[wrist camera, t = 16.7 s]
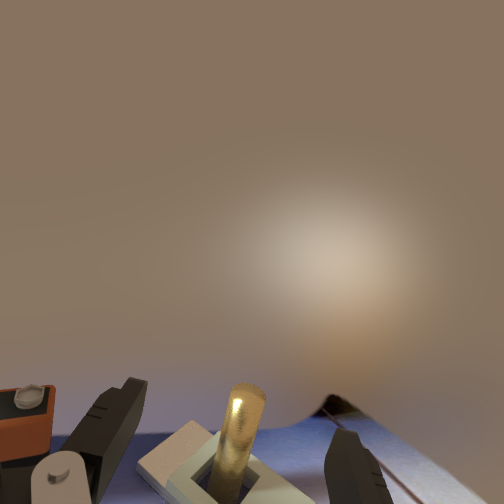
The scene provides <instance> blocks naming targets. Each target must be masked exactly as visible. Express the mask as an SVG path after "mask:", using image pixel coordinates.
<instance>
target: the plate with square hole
mask: <svg viewBox="0 0 504 504" xmlns="http://www.w3.org/2000/svg"><path fill="white" fill-rule="evenodd" d="M220 434H221V431H220V430H219V431H218V432H217V433H216V434H215V435H214V436H213V437H212V438H211V439H210V440H209V441H207V442H206V443H205V444H204V445H203V446H202V447H201V448H200V449H199V450H198V451H197V452H195V453H194V454H193V455H192V456H191V457H190V458H189V459H188V460H187V461H186V462H185V463H184V464H182V465H181V466H180V467H179V468H178V469H177V470H176V471H175V472H174V473H173V474H172V475H170V476H169V477H168V478H167V482H166V487H165V489H166V490H167V491H168V492H169V493H170V494H171V495H172V496H173V497H174V498H176V499H177V500H178V501H179V502H180V503H181V504H219V503H217V502H216V501H215V500H214V499H213V498H212V497H211V496H210V495H209V494H207V493H206V492H205V491H204V490H203V489H202V488H201V487H200V486H199V485H197V484H196V483H195V482H194V481H195V480H196V479H197V478H198V477H199V476H200V475H201V474H202V473H203V472H204V471H205V470H206V469H207V467H208V466H209V465H210V464H211V463H212V462H213V461H214V458H215V454H216V450H217V446H218V442H219V438H220ZM245 476H247V477H248V478H249V479H250V480H252V481H253V482H254V483H255V485H254V486H253V487H252V489H251V490H250V491H249V493H248V494H247V496H246V497H245V498H244V500H243V501H242V502H241V504H316V502H314V501H313V500H312V499H310V498H309V497H308V496H306V495H305V494H304V493H302V492H301V491H300V490H298V489H297V488H296V487H294V486H293V485H292V484H290V483H289V482H288V481H286V480H285V479H284V478H283V477H281V476H280V475H279V474H277V473H276V472H275V471H273V470H272V469H271V468H269V467H268V466H267V465H265V464H264V463H263V462H261V461H260V460H259V459H257V458H256V457H255V456H253V455H252V454H250V458H249V461H248V465H247V468H246V472H245Z"/></svg>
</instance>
